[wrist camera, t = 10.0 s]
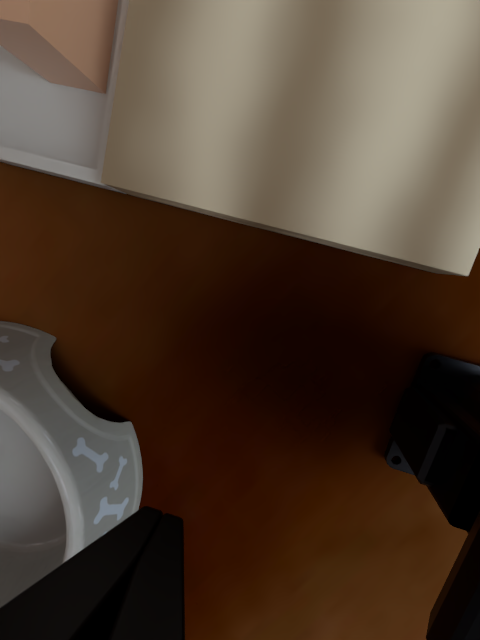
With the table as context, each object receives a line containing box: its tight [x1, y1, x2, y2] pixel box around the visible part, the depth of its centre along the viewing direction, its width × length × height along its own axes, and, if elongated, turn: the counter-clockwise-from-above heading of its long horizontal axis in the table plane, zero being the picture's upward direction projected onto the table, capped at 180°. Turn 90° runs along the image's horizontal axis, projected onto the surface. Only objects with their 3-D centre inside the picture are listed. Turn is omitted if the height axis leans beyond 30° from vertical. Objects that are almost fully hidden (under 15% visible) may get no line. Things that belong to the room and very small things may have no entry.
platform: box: [101, 0, 480, 276], centre depth 14 cm, size 16×14×3 cm
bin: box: [0, 0, 129, 194], centre depth 16 cm, size 9×14×2 cm
